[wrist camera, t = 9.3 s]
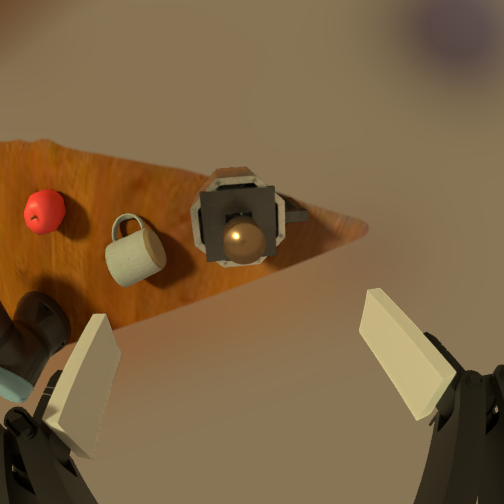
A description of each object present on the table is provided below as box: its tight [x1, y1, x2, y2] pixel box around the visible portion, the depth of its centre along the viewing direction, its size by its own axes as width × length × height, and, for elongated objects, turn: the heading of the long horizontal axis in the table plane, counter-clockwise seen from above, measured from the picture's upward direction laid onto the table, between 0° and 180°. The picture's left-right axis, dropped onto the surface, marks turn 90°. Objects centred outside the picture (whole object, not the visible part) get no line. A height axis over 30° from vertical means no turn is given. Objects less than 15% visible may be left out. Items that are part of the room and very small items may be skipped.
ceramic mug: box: [105, 213, 166, 287], centre depth 41 cm, size 11×8×8 cm
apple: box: [24, 189, 66, 235], centre depth 36 cm, size 8×8×8 cm
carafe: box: [190, 167, 307, 267], centre depth 38 cm, size 14×11×13 cm
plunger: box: [216, 183, 266, 265], centre depth 34 cm, size 8×8×18 cm
